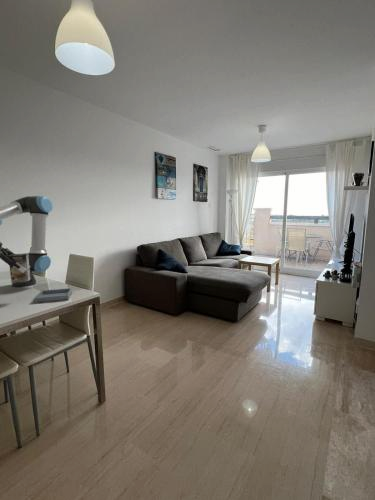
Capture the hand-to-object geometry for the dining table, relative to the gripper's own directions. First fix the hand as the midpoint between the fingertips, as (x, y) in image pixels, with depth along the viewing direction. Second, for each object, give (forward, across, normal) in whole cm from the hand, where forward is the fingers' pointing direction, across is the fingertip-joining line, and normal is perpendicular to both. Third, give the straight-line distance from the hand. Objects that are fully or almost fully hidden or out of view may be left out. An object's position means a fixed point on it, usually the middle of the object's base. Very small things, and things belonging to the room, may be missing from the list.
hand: (26, 269), depth 154 cm
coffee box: (+2, 0, -7) cm, 8 cm away
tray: (+23, +1, -3) cm, 23 cm away
